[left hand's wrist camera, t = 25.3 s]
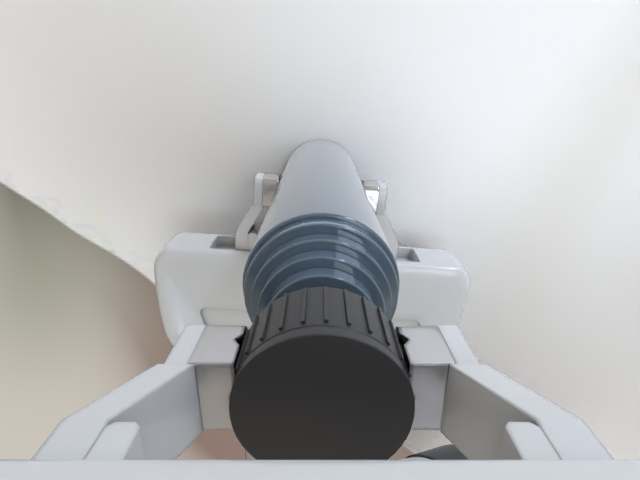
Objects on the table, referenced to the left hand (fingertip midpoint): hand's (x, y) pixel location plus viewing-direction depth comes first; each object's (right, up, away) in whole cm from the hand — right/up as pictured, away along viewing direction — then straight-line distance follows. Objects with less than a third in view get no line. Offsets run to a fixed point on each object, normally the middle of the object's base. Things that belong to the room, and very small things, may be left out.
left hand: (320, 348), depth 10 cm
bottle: (0, +8, +20) cm, 22 cm away
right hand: (0, +7, +15) cm, 16 cm away
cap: (0, -1, -2) cm, 2 cm away
